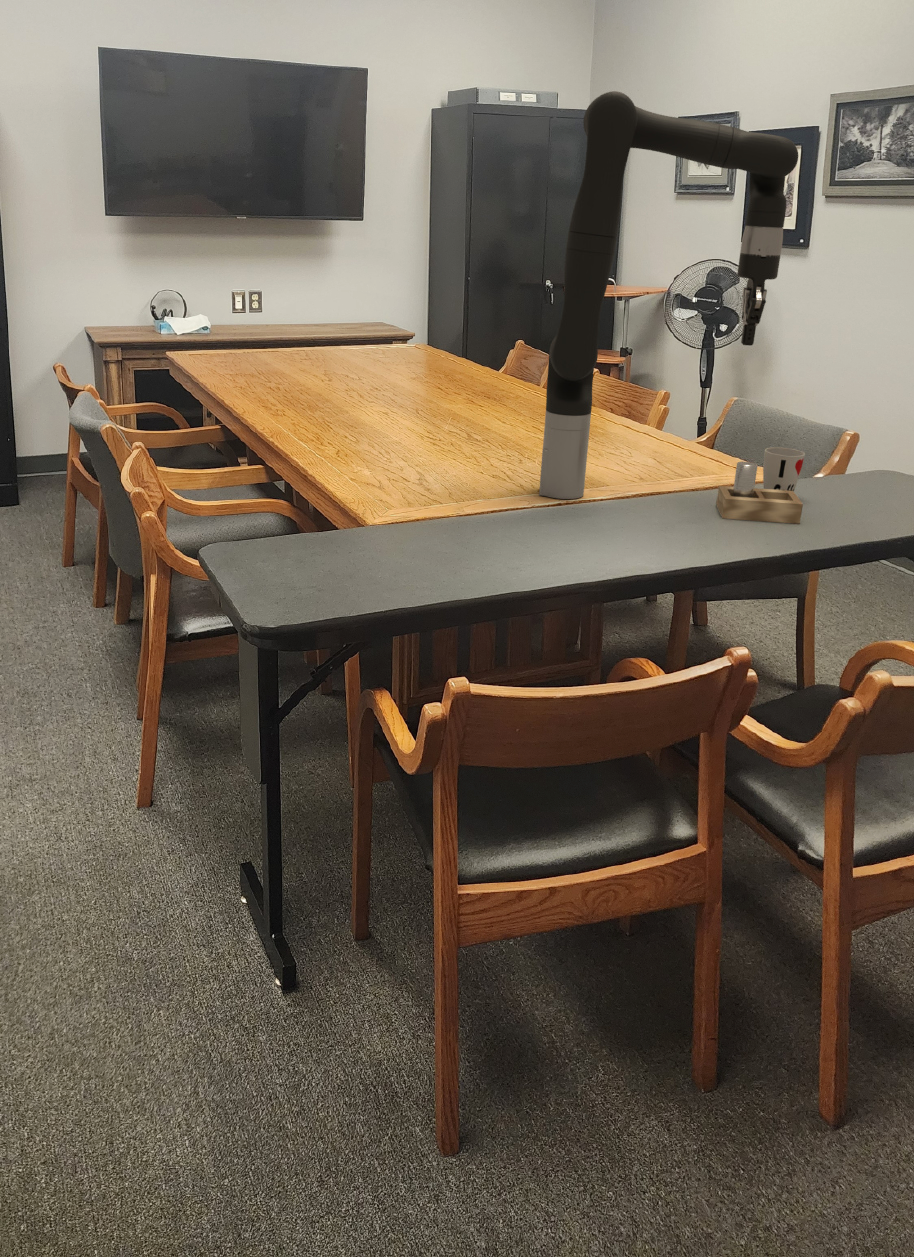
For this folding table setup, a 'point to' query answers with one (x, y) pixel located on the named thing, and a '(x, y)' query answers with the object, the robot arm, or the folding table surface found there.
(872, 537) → the folding table surface
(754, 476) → the grey rounded cylinder
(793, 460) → the cup
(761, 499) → the frame
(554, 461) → the robot arm
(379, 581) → the folding table surface
